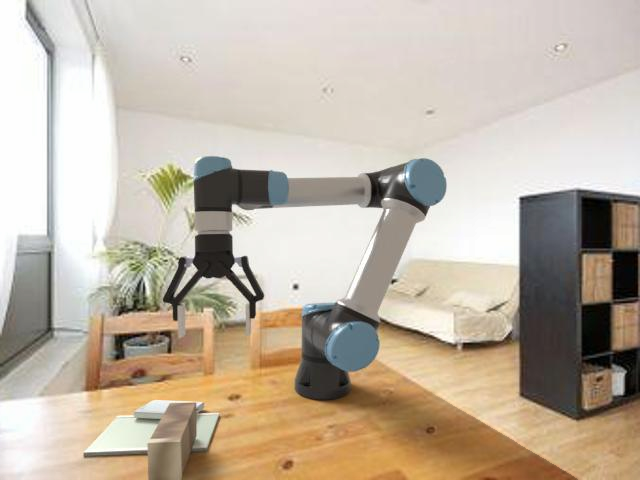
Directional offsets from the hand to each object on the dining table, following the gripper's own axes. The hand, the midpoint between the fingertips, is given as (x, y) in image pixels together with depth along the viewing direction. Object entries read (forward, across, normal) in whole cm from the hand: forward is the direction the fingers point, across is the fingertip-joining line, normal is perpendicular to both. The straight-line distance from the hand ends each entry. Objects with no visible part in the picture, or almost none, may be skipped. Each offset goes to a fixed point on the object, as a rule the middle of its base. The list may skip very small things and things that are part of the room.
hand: (215, 335), depth 78 cm
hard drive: (+19, +12, -7) cm, 24 cm away
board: (+20, +12, 0) cm, 23 cm away
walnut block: (+15, +6, +4) cm, 17 cm away
